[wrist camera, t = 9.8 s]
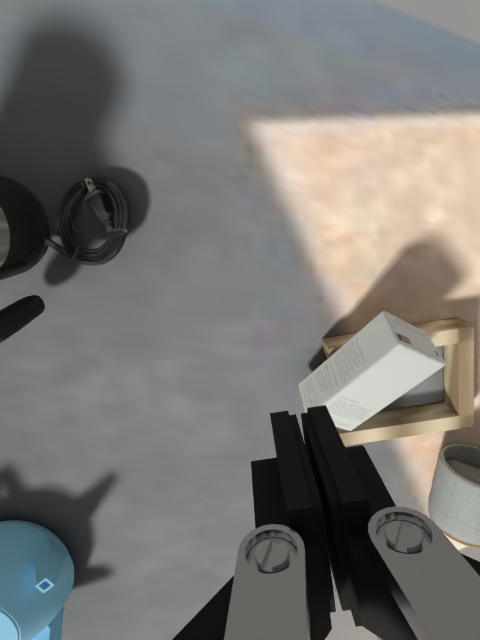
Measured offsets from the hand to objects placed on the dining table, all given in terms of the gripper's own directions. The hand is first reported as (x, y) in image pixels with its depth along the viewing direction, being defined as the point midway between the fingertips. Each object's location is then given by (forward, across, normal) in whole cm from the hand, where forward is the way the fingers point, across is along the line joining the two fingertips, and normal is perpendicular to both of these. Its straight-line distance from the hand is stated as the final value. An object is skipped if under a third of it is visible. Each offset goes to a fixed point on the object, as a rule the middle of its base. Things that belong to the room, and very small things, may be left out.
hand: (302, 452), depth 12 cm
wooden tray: (+29, -13, +13) cm, 34 cm away
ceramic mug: (+29, -21, +26) cm, 45 cm away
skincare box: (+26, -5, +14) cm, 30 cm away
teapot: (+29, +33, +30) cm, 53 cm away
